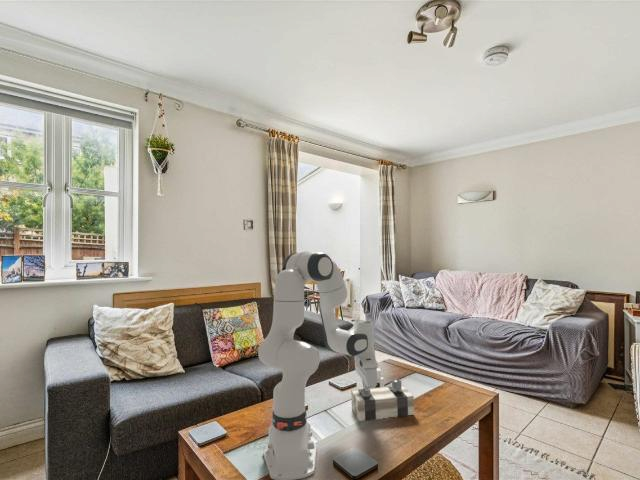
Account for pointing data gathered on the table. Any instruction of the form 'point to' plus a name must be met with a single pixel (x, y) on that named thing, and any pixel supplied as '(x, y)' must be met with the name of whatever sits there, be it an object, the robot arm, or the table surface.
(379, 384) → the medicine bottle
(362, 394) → the peg
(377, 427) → the table surface
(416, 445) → the table surface
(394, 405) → the block
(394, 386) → the peg
